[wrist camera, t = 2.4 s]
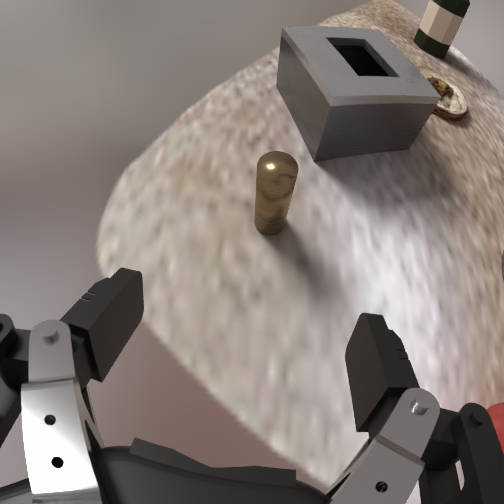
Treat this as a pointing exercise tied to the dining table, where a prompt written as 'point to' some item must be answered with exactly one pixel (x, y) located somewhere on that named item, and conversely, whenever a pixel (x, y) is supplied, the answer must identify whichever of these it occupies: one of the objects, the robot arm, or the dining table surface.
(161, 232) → the dining table surface
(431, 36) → the wine bottle
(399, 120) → the box
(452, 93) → the plate of food
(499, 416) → the flower pot
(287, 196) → the brown glossy cylinder
